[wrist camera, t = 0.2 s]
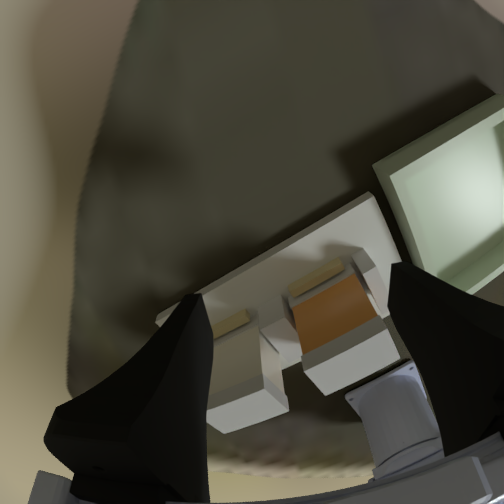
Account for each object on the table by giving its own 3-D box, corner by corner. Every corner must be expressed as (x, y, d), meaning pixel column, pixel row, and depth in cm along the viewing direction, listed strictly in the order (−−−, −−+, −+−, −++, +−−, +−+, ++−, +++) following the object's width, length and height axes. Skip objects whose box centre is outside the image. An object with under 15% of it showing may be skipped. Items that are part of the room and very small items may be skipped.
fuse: (278, 337, 24) (289, 411, 18) (225, 362, 25) (224, 433, 19) (257, 313, 23) (264, 388, 17) (203, 341, 24) (195, 414, 18)
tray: (523, 225, 22) (542, 238, 19) (423, 297, 25) (438, 317, 22) (496, 93, 16) (520, 97, 14) (371, 165, 19) (389, 175, 17)
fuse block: (410, 292, 24) (428, 317, 21) (230, 383, 28) (230, 413, 25) (368, 191, 20) (390, 209, 17) (157, 314, 24) (148, 344, 21)
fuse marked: (364, 291, 23) (400, 358, 16) (306, 323, 24) (325, 395, 18) (349, 262, 21) (387, 328, 15) (287, 297, 23) (303, 371, 16)
